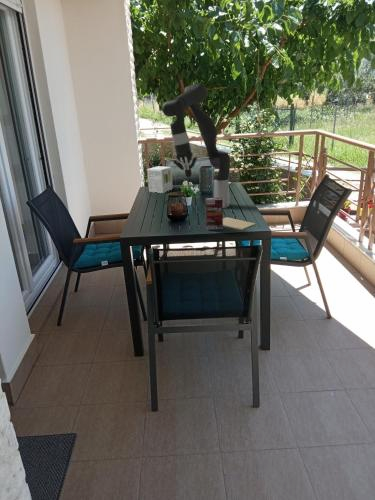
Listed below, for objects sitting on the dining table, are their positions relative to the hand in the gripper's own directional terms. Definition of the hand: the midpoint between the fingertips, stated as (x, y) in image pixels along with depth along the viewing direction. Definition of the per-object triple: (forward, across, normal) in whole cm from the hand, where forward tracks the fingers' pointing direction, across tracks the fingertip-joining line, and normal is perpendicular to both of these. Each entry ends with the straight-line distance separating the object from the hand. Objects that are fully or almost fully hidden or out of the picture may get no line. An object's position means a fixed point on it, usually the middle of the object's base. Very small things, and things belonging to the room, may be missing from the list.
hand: (189, 176), depth 198 cm
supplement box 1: (+25, +60, -77) cm, 101 cm away
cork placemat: (+31, -15, -9) cm, 36 cm away
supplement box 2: (+29, -8, 0) cm, 30 cm away
